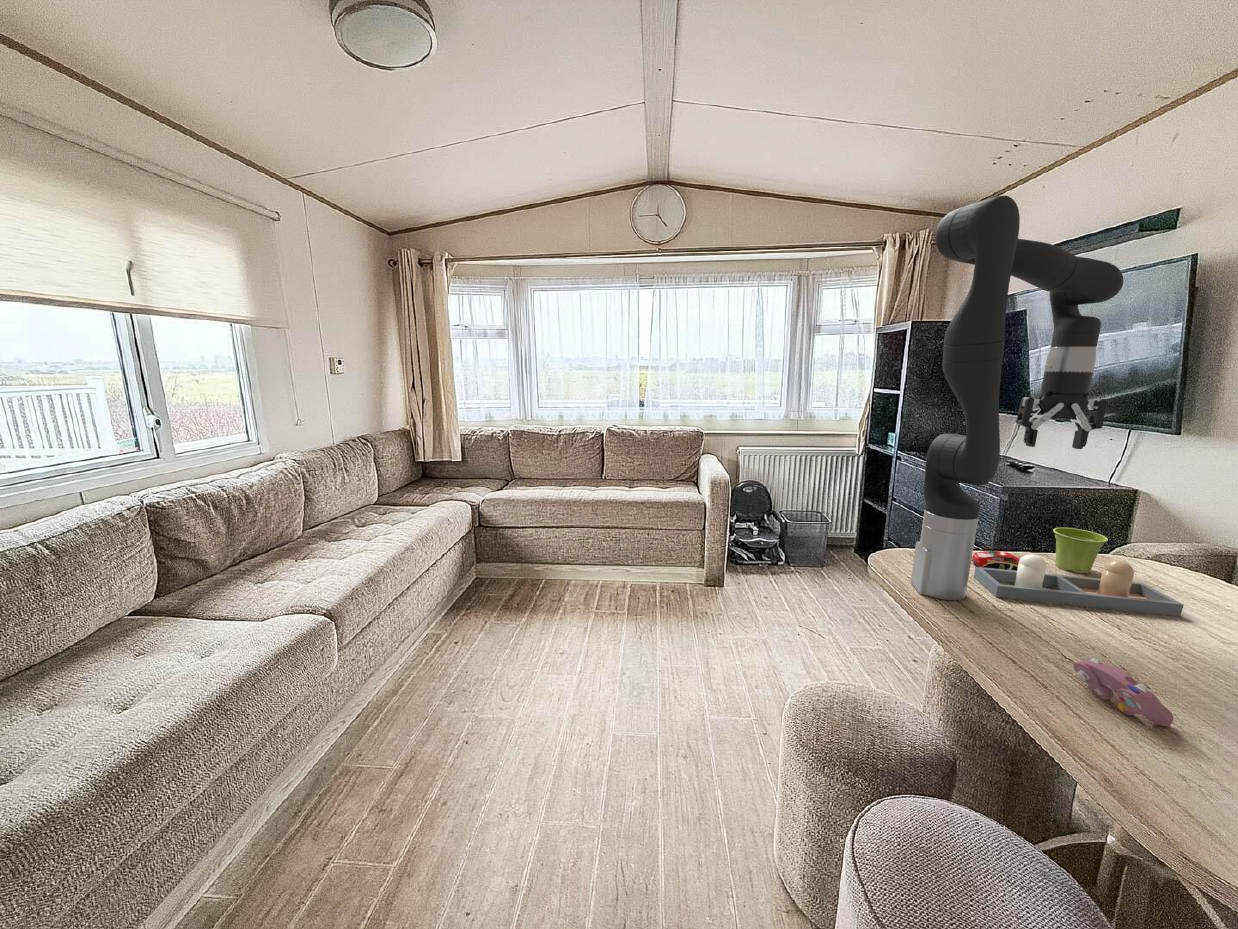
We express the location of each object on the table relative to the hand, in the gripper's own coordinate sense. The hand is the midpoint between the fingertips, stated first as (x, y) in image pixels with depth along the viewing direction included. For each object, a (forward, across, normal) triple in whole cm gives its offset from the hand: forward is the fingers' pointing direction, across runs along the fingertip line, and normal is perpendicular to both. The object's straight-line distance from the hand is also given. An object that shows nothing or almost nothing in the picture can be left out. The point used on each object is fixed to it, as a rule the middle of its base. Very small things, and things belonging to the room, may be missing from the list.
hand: (1053, 447), depth 104 cm
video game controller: (+30, -11, -46) cm, 56 cm away
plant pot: (+30, +14, +10) cm, 35 cm away
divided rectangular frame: (+30, +4, -7) cm, 31 cm away
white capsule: (+30, -4, -7) cm, 31 cm away
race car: (+31, -2, +6) cm, 31 cm away
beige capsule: (+30, +12, -7) cm, 33 cm away
